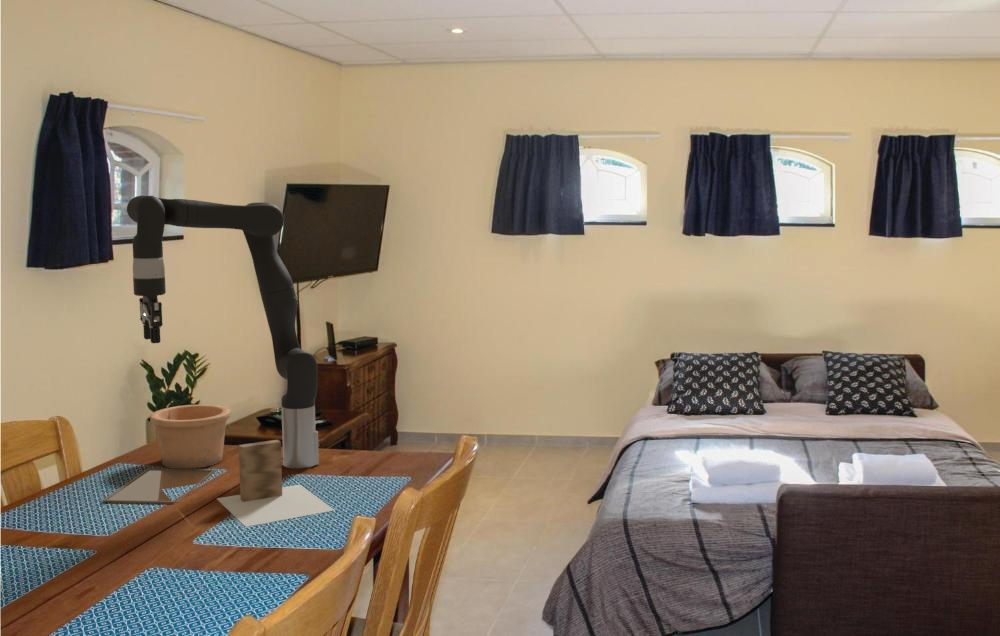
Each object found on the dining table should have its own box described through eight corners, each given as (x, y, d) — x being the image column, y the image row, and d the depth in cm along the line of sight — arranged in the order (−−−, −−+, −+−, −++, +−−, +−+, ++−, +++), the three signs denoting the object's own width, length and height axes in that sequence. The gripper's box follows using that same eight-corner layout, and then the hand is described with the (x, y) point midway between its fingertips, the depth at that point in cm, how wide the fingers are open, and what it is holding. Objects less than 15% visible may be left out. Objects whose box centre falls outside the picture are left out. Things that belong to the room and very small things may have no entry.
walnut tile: (279, 492, 244) (277, 439, 242) (282, 495, 242) (280, 441, 240) (240, 499, 239) (238, 445, 237) (243, 501, 237) (241, 447, 235)
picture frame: (177, 505, 236) (215, 473, 264) (177, 501, 236) (215, 469, 264) (102, 504, 237) (148, 472, 265) (102, 500, 237) (147, 468, 265)
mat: (299, 486, 251) (299, 484, 251) (335, 511, 231) (334, 510, 231) (216, 500, 239) (216, 498, 239) (245, 528, 219) (245, 526, 219)
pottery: (135, 467, 268) (133, 417, 266) (186, 448, 288) (184, 401, 286) (199, 475, 260) (197, 424, 258) (246, 455, 281) (245, 407, 279)
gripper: (171, 277, 233) (174, 343, 235) (158, 273, 245) (161, 336, 247) (139, 278, 229) (142, 346, 231) (127, 274, 241) (130, 338, 243)
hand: (152, 340), depth 239 cm, fingers open, 7 cm apart
